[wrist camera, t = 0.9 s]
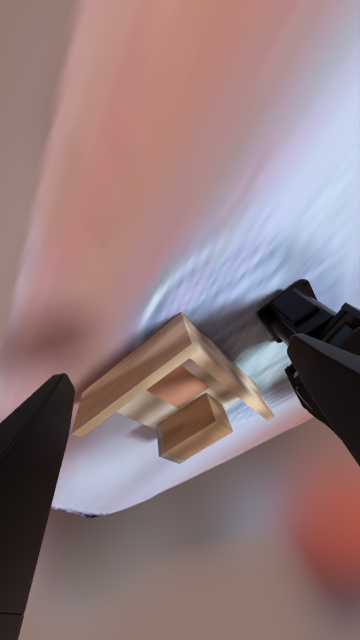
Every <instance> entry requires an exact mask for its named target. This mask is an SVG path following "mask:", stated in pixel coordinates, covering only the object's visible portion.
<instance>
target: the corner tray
mask: <svg viewBox="0 0 360 640" xmlns="http://www.w3.org/2000/svg"><path fill="white" fill-rule="evenodd" d="M204 393H208V394H209V395H211V396H212V397H213V398H215V399H216V400H218V401H219V402H220V403H222V405H223V407H224V408H225V407H226V406H228V405H230V404H231V403H233V402H234V401H236V400H238V399H239V398H240V399H241V400H243V401H244V402H245V403H246V404H247V405H249V406H250V407H251V408H252V409H254V410H255V411H256V412H257V413H259V414H260V415H261V416H262V417H264V418H265V419H266V420H267V421H268V420H270V419H271V418H273V417H275V415H274V414H273V412H272V410H271V409H270V407H269V405H268V404H267V402H266V400H265V399H264V397H263V395H262V394H261V392H260V390H259V389H258V387H257V385H256V384H255V383H254V382H253V381H252V380H251V379H250V378H249V377H248V376H247V375H246V374H245V373H244V372H243V371H242V370H241V369H240V368H239V367H238V366H237V365H236V364H234V363H233V362H232V361H231V360H230V359H229V358H228V357H227V356H226V355H225V354H224V353H223V352H222V351H221V350H220V349H219V348H218V347H217V346H216V345H215V344H214V343H213V342H212V341H211V340H210V339H208V338H207V337H206V336H205V335H204V334H203V333H202V332H201V331H200V330H199V329H198V328H197V327H196V326H195V325H194V324H193V323H192V322H191V321H190V320H189V319H188V318H187V317H186V316H185V315H184V314H183V313H179V314H178V315H177V316H176V317H175V318H173V319H172V320H171V321H170V322H168V323H167V324H166V325H165V326H163V327H162V328H161V329H160V330H159V331H157V332H156V333H155V334H154V335H152V336H151V337H150V338H149V339H147V340H146V341H145V342H144V343H143V344H141V345H140V346H139V347H138V348H136V349H135V350H134V351H133V352H131V353H130V354H129V355H128V356H127V357H125V358H124V359H123V360H122V361H120V362H119V363H118V364H117V365H116V366H114V367H113V368H112V369H111V370H109V371H108V372H107V373H106V374H104V375H103V376H102V377H101V378H100V379H98V380H97V381H96V382H95V383H93V384H92V385H91V386H90V387H88V388H87V389H86V390H85V391H84V392H82V396H81V399H80V403H79V407H78V411H77V414H76V418H75V422H74V425H73V429H72V433H71V435H74V436H77V437H80V438H81V437H83V436H84V435H85V434H87V433H88V432H89V431H91V430H92V429H93V428H95V427H96V426H98V425H99V424H100V423H102V422H103V421H104V420H106V419H107V418H108V417H110V416H111V415H113V414H114V413H115V412H117V413H119V414H122V415H124V416H126V417H128V418H131V419H133V420H135V421H137V422H139V423H142V424H144V425H146V426H148V427H151V428H153V429H155V430H157V426H156V425H157V424H159V423H160V422H163V421H164V420H166V419H167V418H169V417H170V416H172V415H173V414H175V413H176V412H177V411H179V410H180V409H182V408H183V407H185V406H186V405H188V404H189V403H191V402H192V401H194V400H195V399H197V398H198V397H200V396H201V395H203V394H204Z"/></svg>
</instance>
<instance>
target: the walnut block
mask: <svg viewBox="0 0 360 640" xmlns="http://www.w3.org/2000/svg"><path fill="white" fill-rule="evenodd" d="M156 426H157V438H158V450H159V457H162V458H165V459H167V460H170V461H173V462H176V463H179V464H180V463H182V462H184V461H185V460H186V459H188V458H189V457H191V456H193V455H195V454H196V453H198V452H200V451H201V450H203V449H205V448H206V447H208V446H210V445H211V444H213V443H215V442H217V441H218V440H220V439H222V438H223V437H225V436H227V435H228V434H230V433H232V432H233V430H232V428H231V425H230V422H229V420H228V417H227V415H226V412H225V410H224V407H223V405H222V403H220V402H219V401H218V400H216V399H215V398H213V397H212V396H211V395H209V394H208V393H204V394H203V395H201V396H200V397H198V398H197V399H195V400H194V401H192V402H191V403H189V404H188V405H186V406H185V407H183V408H182V409H180V410H179V411H177V412H176V413H175V414H173V415H172V416H170V417H169V418H167V419H166V420H164V421H163V422H160V423H159V424H157V425H156Z"/></svg>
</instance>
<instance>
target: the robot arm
mask: <svg viewBox="0 0 360 640" xmlns="http://www.w3.org/2000/svg"><path fill="white" fill-rule="evenodd" d="M262 313H263V314H262ZM261 314H262V315H261ZM257 316H258V317H259V319H260V320H261V322H262V323H263V324H264V326H265V327H266V328H267V330H268V331H269V332H270V334H271V335H272V336H273V338H274V339H275V341H276V342H277V343H281V342H284V343H285V344H286V345H287V346H288V348H287V354H288V356H289V358H290V360H291V362H292V363H291V365H290V366H287V368H286V369H285V372H286V374H287V376H288V378H289V380H290V382H291V384H292V387H293V389H294V391H295V393H296V395H297V397H298V399H299V400H300V402H301V404H302V406H303V407H304V408H305V409H306V410H308V412H309V413H311V414H312V415H313V416H314V417H315V418H317V419H318V420H320V421H321V422H323V423H325V424H326V425H327V426H328V427H329V428H330V429H331V430H332V431H333V432H334V433H335V434H336V435H337V436H338V437H339V438H340V439H341V440H342V441H343V443H344V444H345V446H346V447H347V449H348V450H349V452H350V453H351V454H352V456H353V457H354V459H355V460H356V462H357V463H358V465H359V466H360V309H358V308H356V307H354V306H352V305H350V304H348V303H346V302H345V304H344V305H343V306H342V307H341V310H340V311H339V312H338V313H336V312H335V311H333V310H331V309H330V308H328V307H327V306H325V305H323V304H322V303H320V302H319V301H317V299H316V296H315V294H314V292H313V290H312V288H311V285H310V283H309V281H307V280H306V279H302V280H301V281H299V282H298V283H296V284H295V285H294V286H292V287H291V288H290V289H288V290H287V291H285V292H284V293H283V294H281V295H280V296H279V297H277V298H276V299H274V300H273V301H272V302H270V303H269V304H268V305H266V306H265V307H263V308H262V309H261V310H259V311H258V312H257ZM74 395H75V389H74V386H73V384H72V383H71V381H70V379H69V377H68V376H67V374H65V373H62V374H56V375H53V376H52V377H51V378H50V379H48V380H47V381H46V382H45V383H44V384H43V385H42V386H41V387H40V388H39V389H37V390H36V391H35V392H34V393H33V394H32V395H31V396H30V397H29V398H28V399H26V400H25V401H24V402H23V403H22V404H21V405H20V406H19V407H18V408H17V409H15V410H14V411H13V412H12V413H11V414H10V415H9V416H8V417H7V418H6V419H4V420H3V421H2V422H1V423H0V640H18V637H19V634H20V629H21V626H22V622H23V618H24V615H23V614H24V612H25V609H26V604H27V601H28V596H29V593H30V588H31V585H32V581H33V576H34V573H35V569H36V565H37V560H38V557H39V553H40V549H41V545H42V540H43V536H44V533H45V529H46V524H47V521H48V517H49V513H50V509H51V505H52V500H53V496H54V492H55V488H56V484H57V480H58V476H59V472H60V468H61V464H62V460H63V456H64V452H65V448H66V444H67V440H68V436H69V431H70V425H71V417H72V410H73V403H74Z"/></svg>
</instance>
